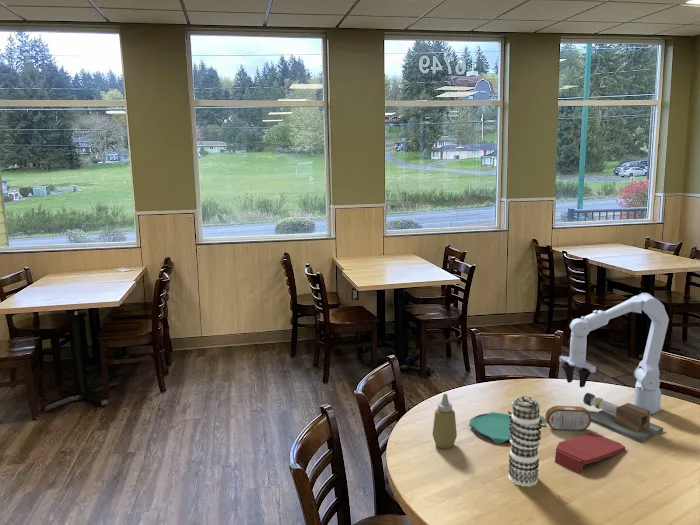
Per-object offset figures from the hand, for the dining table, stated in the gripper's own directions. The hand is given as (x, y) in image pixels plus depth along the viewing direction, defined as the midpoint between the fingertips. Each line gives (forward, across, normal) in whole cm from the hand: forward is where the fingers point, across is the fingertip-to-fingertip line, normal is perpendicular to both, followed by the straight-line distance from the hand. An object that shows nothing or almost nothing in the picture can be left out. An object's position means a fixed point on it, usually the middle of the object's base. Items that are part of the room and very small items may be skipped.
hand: (575, 384), depth 210 cm
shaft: (+6, +14, 0) cm, 15 cm away
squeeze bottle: (+9, -5, -62) cm, 63 cm away
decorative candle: (+9, +23, -56) cm, 61 cm away
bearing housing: (+8, +20, 0) cm, 22 cm away
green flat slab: (+9, -2, -34) cm, 35 cm away
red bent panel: (+9, +25, -28) cm, 38 cm away
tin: (+9, +11, -19) cm, 24 cm away
